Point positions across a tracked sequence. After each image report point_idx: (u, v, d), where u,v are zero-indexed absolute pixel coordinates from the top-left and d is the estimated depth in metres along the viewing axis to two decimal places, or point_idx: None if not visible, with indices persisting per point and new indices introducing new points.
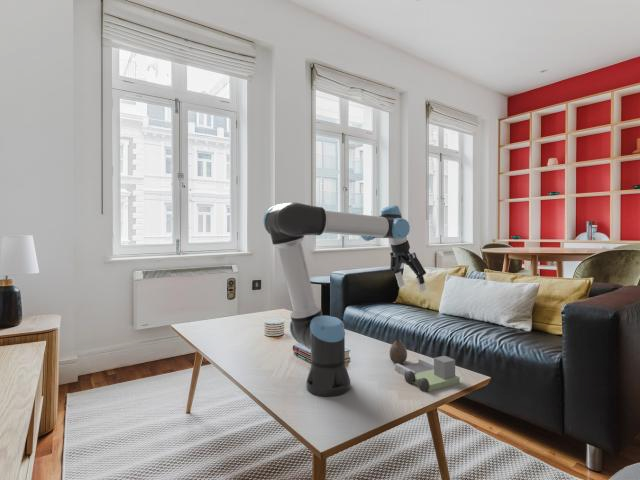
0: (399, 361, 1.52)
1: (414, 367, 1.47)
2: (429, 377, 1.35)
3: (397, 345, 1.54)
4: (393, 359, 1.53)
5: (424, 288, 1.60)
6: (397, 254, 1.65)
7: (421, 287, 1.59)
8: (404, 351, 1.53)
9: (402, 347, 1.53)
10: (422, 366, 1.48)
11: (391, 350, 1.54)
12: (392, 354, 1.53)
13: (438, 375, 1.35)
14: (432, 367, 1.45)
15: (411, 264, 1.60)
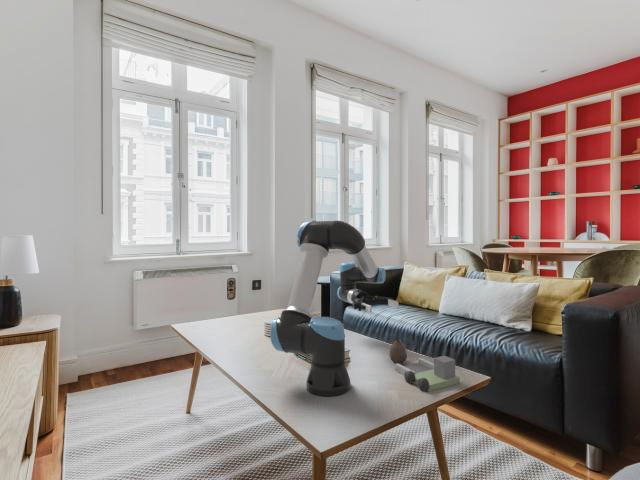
0: (399, 361, 1.52)
1: (414, 367, 1.47)
2: (429, 377, 1.35)
3: (397, 345, 1.54)
4: (393, 359, 1.53)
5: None
6: (360, 298, 1.76)
7: None
8: (404, 351, 1.53)
9: (402, 347, 1.53)
10: (422, 366, 1.48)
11: (391, 350, 1.54)
12: (392, 354, 1.53)
13: (438, 375, 1.35)
14: (432, 367, 1.45)
15: None
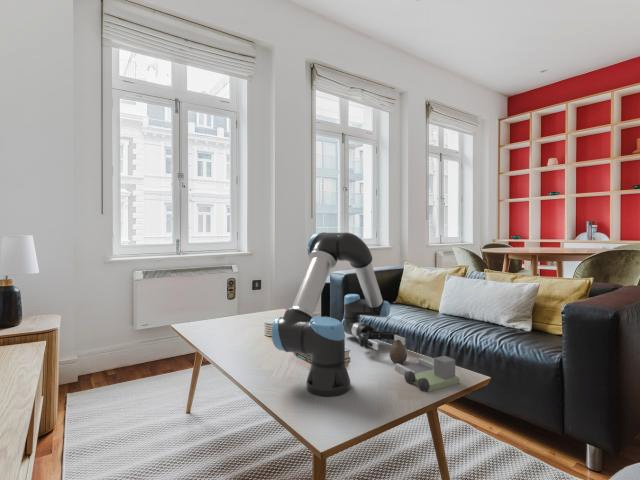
0: (399, 361, 1.52)
1: (414, 367, 1.47)
2: (429, 377, 1.35)
3: (397, 345, 1.54)
4: (393, 359, 1.53)
5: None
6: (366, 332, 1.73)
7: None
8: (404, 351, 1.53)
9: (402, 347, 1.53)
10: (422, 366, 1.48)
11: (391, 350, 1.54)
12: (392, 354, 1.53)
13: (438, 375, 1.35)
14: (432, 367, 1.45)
15: None
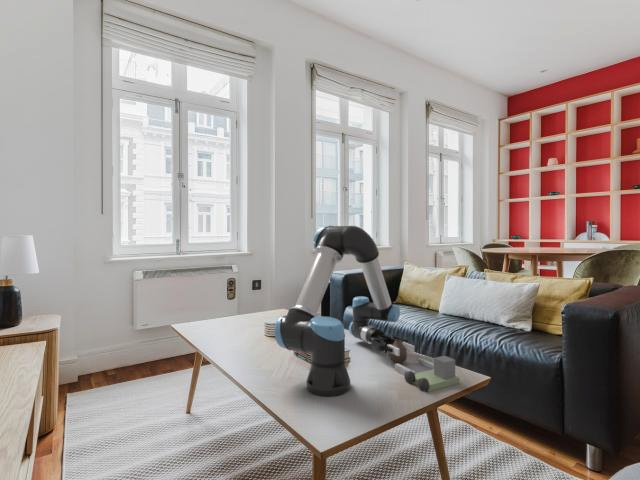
0: (399, 361, 1.52)
1: (414, 367, 1.47)
2: (429, 377, 1.35)
3: (397, 345, 1.54)
4: (393, 359, 1.53)
5: None
6: (375, 337, 1.66)
7: None
8: (404, 351, 1.53)
9: (402, 347, 1.53)
10: (422, 366, 1.48)
11: None
12: (392, 354, 1.53)
13: (438, 375, 1.35)
14: (432, 367, 1.45)
15: None
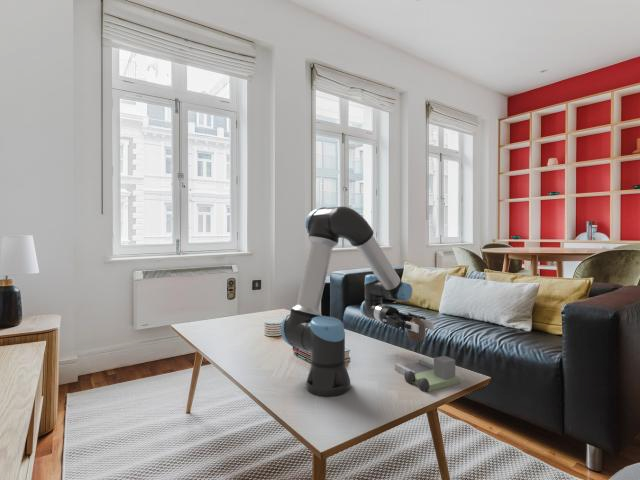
0: (417, 338, 1.42)
1: (414, 367, 1.47)
2: (429, 377, 1.35)
3: (415, 321, 1.43)
4: (411, 336, 1.43)
5: None
6: (390, 315, 1.56)
7: None
8: (423, 328, 1.43)
9: (420, 324, 1.43)
10: (422, 366, 1.48)
11: None
12: (410, 331, 1.43)
13: (438, 375, 1.35)
14: (432, 367, 1.45)
15: None
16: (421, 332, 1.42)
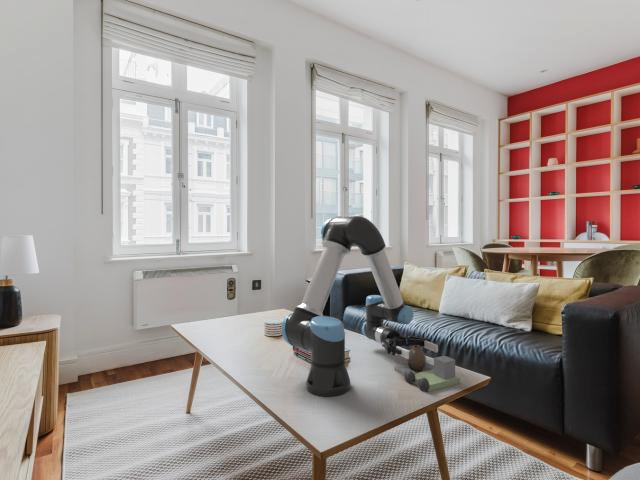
0: (418, 368, 1.42)
1: None
2: (429, 377, 1.35)
3: (415, 350, 1.43)
4: (411, 366, 1.43)
5: None
6: (392, 338, 1.55)
7: None
8: (423, 357, 1.43)
9: (421, 353, 1.43)
10: None
11: (409, 356, 1.44)
12: (410, 360, 1.43)
13: (438, 375, 1.35)
14: (432, 367, 1.45)
15: None
16: (421, 362, 1.42)
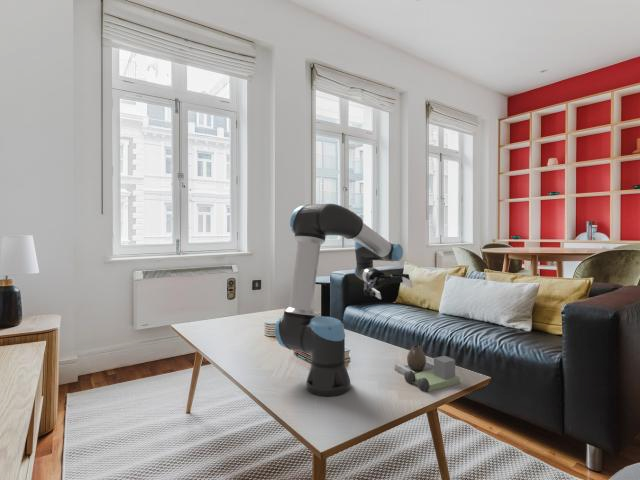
0: (418, 368, 1.42)
1: None
2: (429, 377, 1.35)
3: (415, 350, 1.43)
4: (411, 366, 1.43)
5: None
6: (374, 279, 1.63)
7: None
8: (423, 357, 1.43)
9: (421, 353, 1.43)
10: None
11: (409, 356, 1.44)
12: (410, 360, 1.43)
13: (438, 375, 1.35)
14: (432, 367, 1.45)
15: None
16: (421, 362, 1.42)
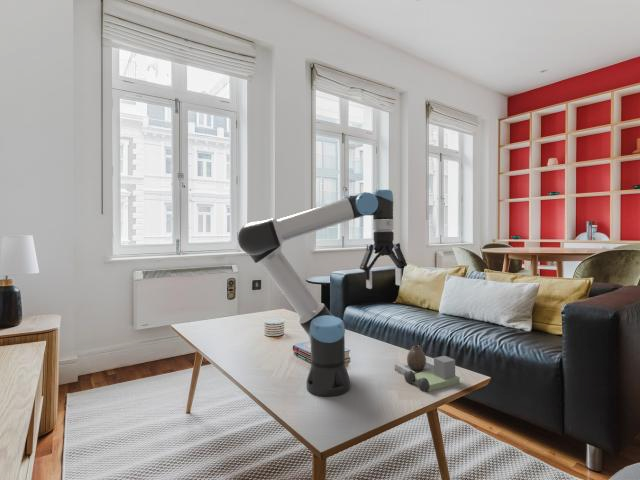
0: (418, 368, 1.42)
1: None
2: (429, 377, 1.35)
3: (415, 350, 1.43)
4: (411, 366, 1.43)
5: (369, 286, 1.44)
6: None
7: (367, 283, 1.45)
8: (423, 357, 1.43)
9: (421, 353, 1.43)
10: None
11: (409, 356, 1.44)
12: (410, 360, 1.43)
13: (438, 375, 1.35)
14: (432, 367, 1.45)
15: (372, 256, 1.46)
16: (421, 361, 1.42)
